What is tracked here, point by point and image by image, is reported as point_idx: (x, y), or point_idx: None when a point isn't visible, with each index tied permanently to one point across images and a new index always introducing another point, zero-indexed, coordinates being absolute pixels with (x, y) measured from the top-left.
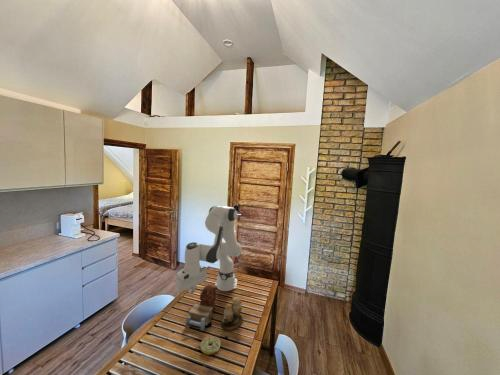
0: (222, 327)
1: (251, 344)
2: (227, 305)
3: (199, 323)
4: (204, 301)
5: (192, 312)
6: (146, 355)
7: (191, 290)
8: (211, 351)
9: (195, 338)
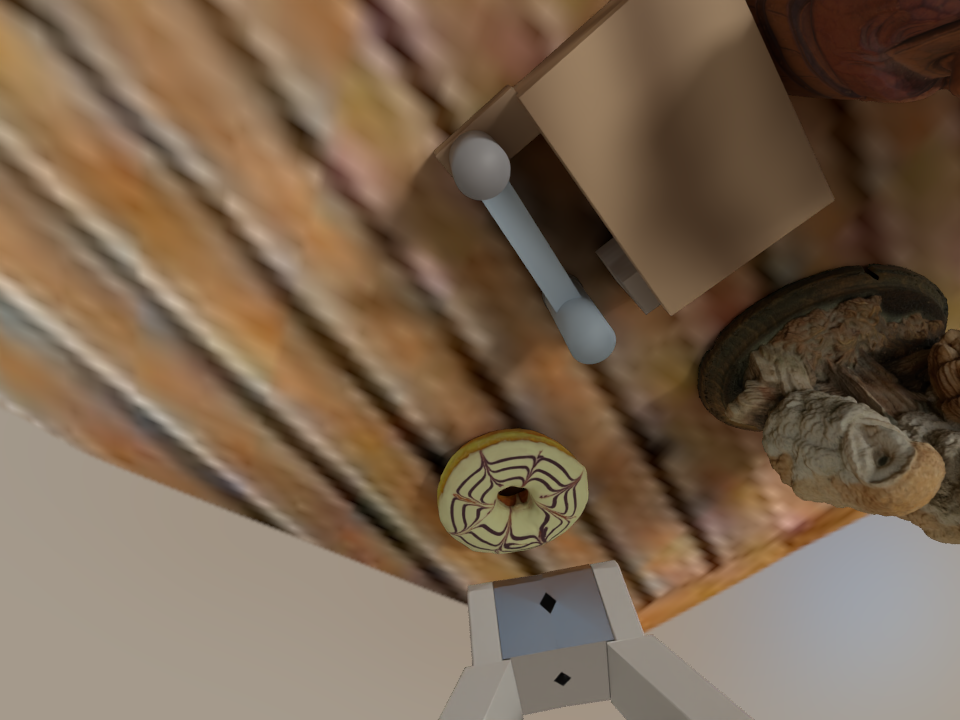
0: (707, 375)
1: (732, 559)
2: (900, 498)
3: (554, 292)
4: (834, 67)
5: (559, 143)
6: (9, 300)
7: (543, 690)
8: (483, 551)
9: (460, 344)
